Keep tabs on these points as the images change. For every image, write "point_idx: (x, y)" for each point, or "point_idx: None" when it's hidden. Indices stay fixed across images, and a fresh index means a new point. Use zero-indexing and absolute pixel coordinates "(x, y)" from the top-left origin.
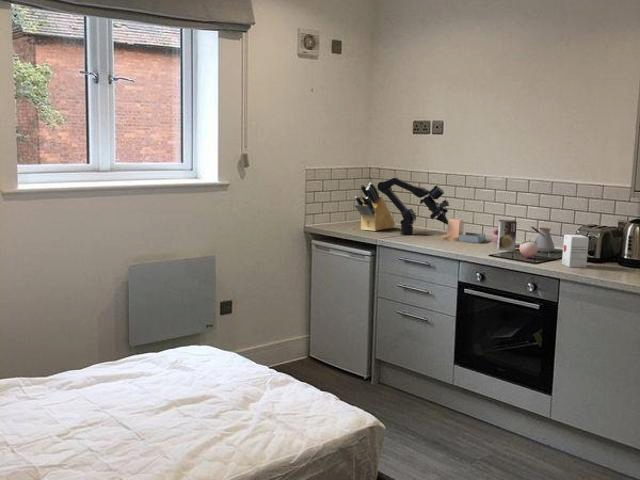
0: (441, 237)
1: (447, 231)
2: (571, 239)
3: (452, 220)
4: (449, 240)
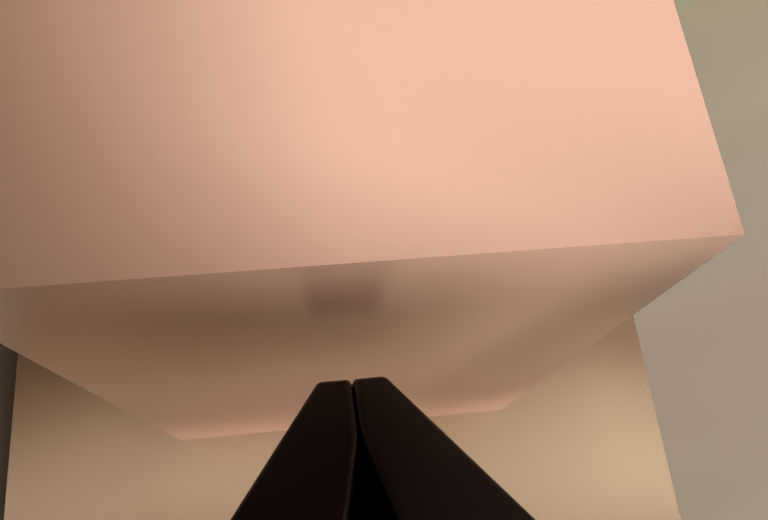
0: (666, 505)
1: (535, 383)
2: None
3: (660, 13)
4: None
